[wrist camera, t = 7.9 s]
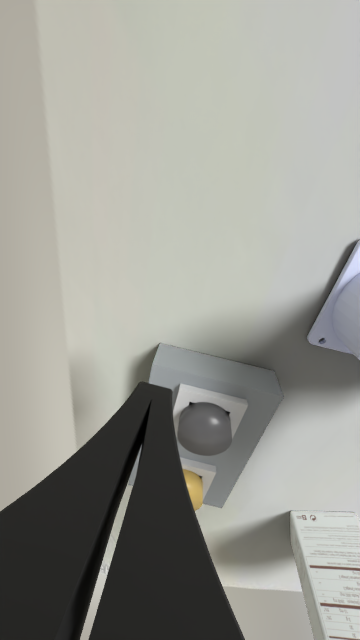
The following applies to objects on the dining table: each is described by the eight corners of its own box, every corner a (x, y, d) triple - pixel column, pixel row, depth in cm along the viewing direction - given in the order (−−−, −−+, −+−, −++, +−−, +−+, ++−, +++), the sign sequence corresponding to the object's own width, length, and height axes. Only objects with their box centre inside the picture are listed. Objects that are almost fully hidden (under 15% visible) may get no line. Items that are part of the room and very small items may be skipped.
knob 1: (208, 441, 25) (207, 492, 20) (198, 464, 26) (196, 516, 22) (170, 432, 25) (162, 481, 20) (164, 456, 27) (154, 505, 22)
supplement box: (350, 543, 30) (434, 746, 19) (288, 540, 32) (332, 728, 20) (357, 510, 27) (463, 728, 16) (289, 508, 29) (340, 708, 17)
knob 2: (233, 379, 21) (239, 426, 17) (220, 411, 23) (223, 461, 18) (189, 368, 21) (183, 412, 17) (179, 401, 23) (172, 448, 18)
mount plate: (274, 370, 20) (286, 402, 17) (220, 478, 27) (221, 514, 24) (159, 342, 20) (150, 369, 17) (136, 457, 28) (126, 491, 24)
